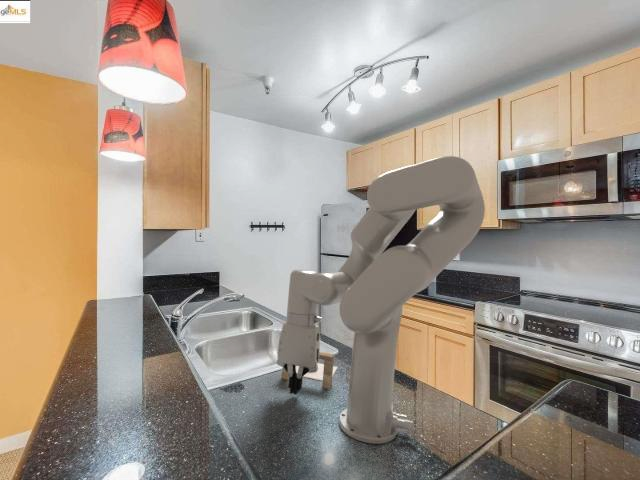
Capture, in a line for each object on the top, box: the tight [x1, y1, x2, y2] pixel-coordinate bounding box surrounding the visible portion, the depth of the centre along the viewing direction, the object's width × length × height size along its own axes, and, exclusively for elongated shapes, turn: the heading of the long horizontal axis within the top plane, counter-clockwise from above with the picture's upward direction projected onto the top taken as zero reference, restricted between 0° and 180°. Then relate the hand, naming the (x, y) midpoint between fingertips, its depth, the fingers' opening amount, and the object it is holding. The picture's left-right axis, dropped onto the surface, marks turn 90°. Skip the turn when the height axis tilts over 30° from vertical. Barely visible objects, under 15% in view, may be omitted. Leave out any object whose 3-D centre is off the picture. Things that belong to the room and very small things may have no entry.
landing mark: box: [296, 362, 339, 382], centre depth 95 cm, size 12×12×1 cm
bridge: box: [281, 350, 335, 390], centre depth 87 cm, size 3×14×9 cm, turn 75°
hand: (294, 391), depth 77 cm, fingers closed
